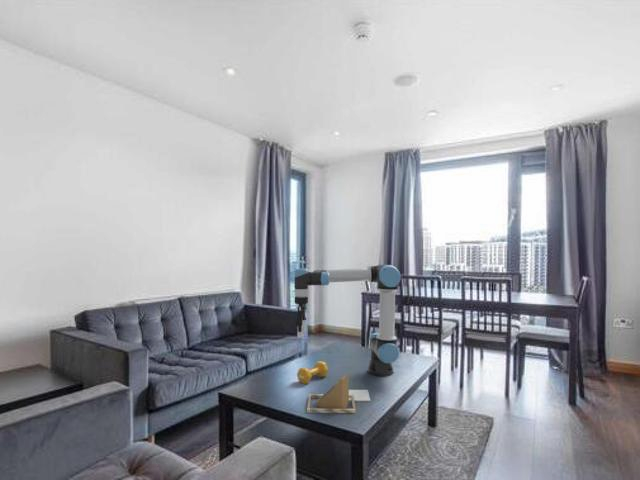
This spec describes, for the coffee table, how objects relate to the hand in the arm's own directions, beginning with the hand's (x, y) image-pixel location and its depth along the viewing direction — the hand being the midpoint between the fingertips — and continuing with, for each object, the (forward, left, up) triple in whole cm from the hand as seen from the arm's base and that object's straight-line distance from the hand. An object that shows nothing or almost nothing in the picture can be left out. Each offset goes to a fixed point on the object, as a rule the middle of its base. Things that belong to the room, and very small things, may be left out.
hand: (301, 334), depth 202 cm
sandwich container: (-16, +28, -27) cm, 42 cm away
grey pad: (-29, +17, -26) cm, 43 cm away
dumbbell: (-6, -6, -27) cm, 28 cm away
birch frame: (-16, +28, -26) cm, 42 cm away
